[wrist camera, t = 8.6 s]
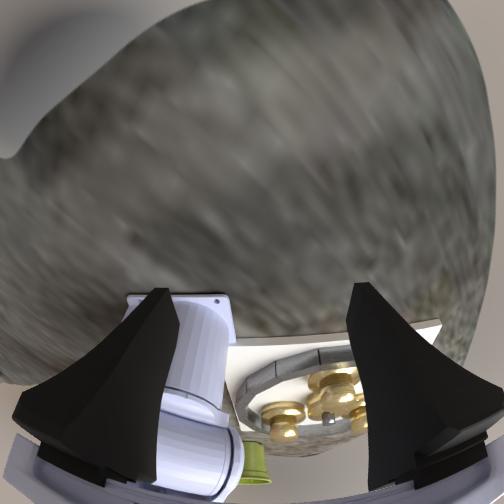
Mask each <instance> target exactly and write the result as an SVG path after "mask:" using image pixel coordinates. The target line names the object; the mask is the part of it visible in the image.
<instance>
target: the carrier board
mask: <svg viewBox="0 0 504 504" xmlns="http://www.w3.org/2000/svg"><path fill="white" fill-rule="evenodd" d="M409 325H410V326H411V327H412V328H414V329H415V330H416V331H417V332H418V333H419V334H420V335H421V336H422V337H423V338H424V339H426V340H427V341H428V342H429V343H430V344H431V345H432V343H433V342H434V340H435V338H436V336H437V334H438V332H439V330H440V328H441V326H442V323H441V322H440V320H439V319H434V320H428V321H423V322H417V323H411V324H409ZM236 340H237V342H236V343H229V345H228V354H227V363H226V372H225V381H226V385H227V388H228V391H229V394H230V397H231V400H232V404H233V407H234V410H235V399H236V393H237V391H238V390H239V388H240V387H241V385H242V383H243V382H244V380H245V379H246V377H247V376H249V375H251V374H253V373H255V372H256V371H258V370H260V369H262V368H263V367H265V366H267V365H268V364H270V363H272V362H273V361H276V360H278V359H282V358H286V357H289V356H292V355H296V354H299V353H303V352H306V351H309V350H312V349H315V348H317V349H319V348H320V347H331V346H341V345H350V342H349V336H348V332H343V333H332V334H320V335H307V336H291V337H271V338H236ZM354 389H355V394H359V393H363V389H362V385H361V381H360V382H359V383H358V384H356V385H355V386H354ZM311 393H313V392H312V391H311V390H310V389H309V388H308V383H307V375H306V376H302V377H299V378H295V379H291V380H287V381H283V382H281V383H279V384H277V385H275V386H273V387H271V388H269V389H267V390H265V391H263V392H261V393H259V394H257V395H256V396H255V397H254V398H253V399H252V401H251V402H250V403H249V404H248V407H249V408H250V409H251V410H252V411H254V412H255V413H256V414H258V415H259V416H260V417H261V409H262V407H263V406H265V405H267V404H269V403H272V402H277V401H295V402H299V403H302V404H303V405H304V406H305V411H306V419H305V420H304V421H303V422H301V423H299V424H297V425H311V424H321V423H322V421H313V420H310V419H309V418H308V413H307V402H306V399H307V397H308V396H309V395H310V394H311ZM235 413H236V410H235ZM236 416H237V413H236ZM237 419H238V416H237ZM341 419H343V418H342V417H341V416H340V417H338V418H335V421H337V420H341ZM238 422H239V425H240V428H241V431H254V430H252V429H251V428H249V427H248V426H246V425H245V424H243V423H242V422H240V421H239V419H238Z"/></svg>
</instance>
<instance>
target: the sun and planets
mask: <svg viewBox="0 0 504 504" xmlns="http://www.w3.org/2000/svg"><path fill="white" fill-rule="evenodd" d="M356 399H357V403H356V404H355V405H354V406H353V407H351V408H349V409H347V410H344V411H340V412H325V411H323V410H322V404H321V396H320V394H318V393H315V392H313V393H311V394H310V395H309V396H308V397H307V399H306V402H307V413H308V418H309V419H310V420H313V421H322V424H323V426H331V425H334V424H335V423H336V422H335V418H338V417H340V416H341V417H342V418H343V419H350V423H351V429H352V433H353V434H361V433H366V432H368V427H367V416H366V407H365V400H364V394H363V393H359V394H356ZM305 419H306V411H305V406H304V405H303V404H302V403H299V402H295V401H277V402H272V403H269V404H267V405H265V406H263V407H262V409H261V421H262V423H264V424H266V425H269V426H270V440H271V441H273V442H279V443H285V442H291V441H295V440H297V439H298V427H297V424H299V423H301V422H303V421H304V420H305Z"/></svg>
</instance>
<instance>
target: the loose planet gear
mask: <svg viewBox="0 0 504 504" xmlns="http://www.w3.org/2000/svg"><path fill="white" fill-rule="evenodd" d="M359 382H360V378H359V374H358V370H357V367H352V368H344V369H336V370H326V371H320V372H316V373H313V374H309V375H307V383H308V388H309V389H310V390H311V391H312V392H315V393H318V394H320V396H321V404H322V410H323V411H325V412H340V411H344V410H347V409H349V408H351V407H353V406H354V405H355V404H356V403H357V399H356V394H355V389H354V386H355V385H356V384H358V383H359Z"/></svg>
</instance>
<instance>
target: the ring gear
mask: <svg viewBox="0 0 504 504" xmlns="http://www.w3.org/2000/svg"><path fill="white" fill-rule="evenodd" d="M352 367H356V363H355V360H354V356H353V353H352V349H351V345H341V346H331V347H320V348H319V349H317V348H315V349H312V350H309V351H306V352H303V353H299V354H296V355H292V356H289V357H286V358H282V359H278V360H276V361H273V362H272V363H270V364H268V365H267V366H265V367H263V368H262V369H260V370H258V371H256V372H255V373H253V374H251V375H249V376H247V377H246V379H245V380H244V382H243V383H242V385H241V387H240V388H239V390H238V391H237V393H236V399H235V410H236V413H237V416H238V419H239V421H240V422H242V423H243V424H245V425H246V426H248V427H249V428H251V429H252V430H254V431H257V432H260V433H264V434H268V435H270V426H269V425H266V424H264V423H262V421H261V417H260V416H259V415H258V414H256V413H255V412H254V411H252V410H251V409H250V408H249V407H248V404H249V403H250V402H251V401H252V399H253V398H254V397H255V396H256V395H257V394H259V393H261V392H263V391H265V390H267V389H269V388H271V387H273V386H275V385H277V384H279V383H281V382H283V381H287V380H291V379H295V378H299V377H302V376H306V375H309V374H313V373H316V372H320V371H326V370H336V369H344V368H352ZM335 422H336V423H335V424H334V425H331V426H323V424H322V423H321V424H311V425H297V427H298V438H312V437H322V436H330V435H335V434H338V433H342V432H346V431H350V430H352V429H351V423H350V419H341V420H337V421H335Z"/></svg>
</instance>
